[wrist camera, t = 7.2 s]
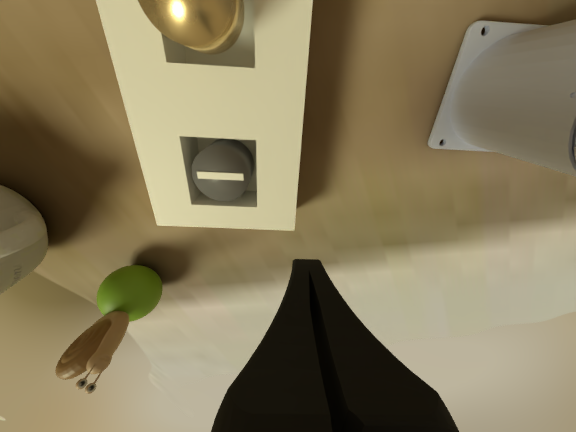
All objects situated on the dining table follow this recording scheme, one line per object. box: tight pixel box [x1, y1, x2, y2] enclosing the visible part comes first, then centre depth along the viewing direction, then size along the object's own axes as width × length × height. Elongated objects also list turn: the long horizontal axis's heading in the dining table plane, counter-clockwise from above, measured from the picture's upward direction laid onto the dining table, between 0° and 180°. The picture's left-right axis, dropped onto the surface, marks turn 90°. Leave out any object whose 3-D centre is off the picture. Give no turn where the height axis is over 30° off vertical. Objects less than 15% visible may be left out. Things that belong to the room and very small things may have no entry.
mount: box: [96, 0, 313, 231], centre depth 13 cm, size 11×27×4 cm, turn 177°
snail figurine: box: [56, 265, 162, 394], centre depth 20 cm, size 5×6×12 cm
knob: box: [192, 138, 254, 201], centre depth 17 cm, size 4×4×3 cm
